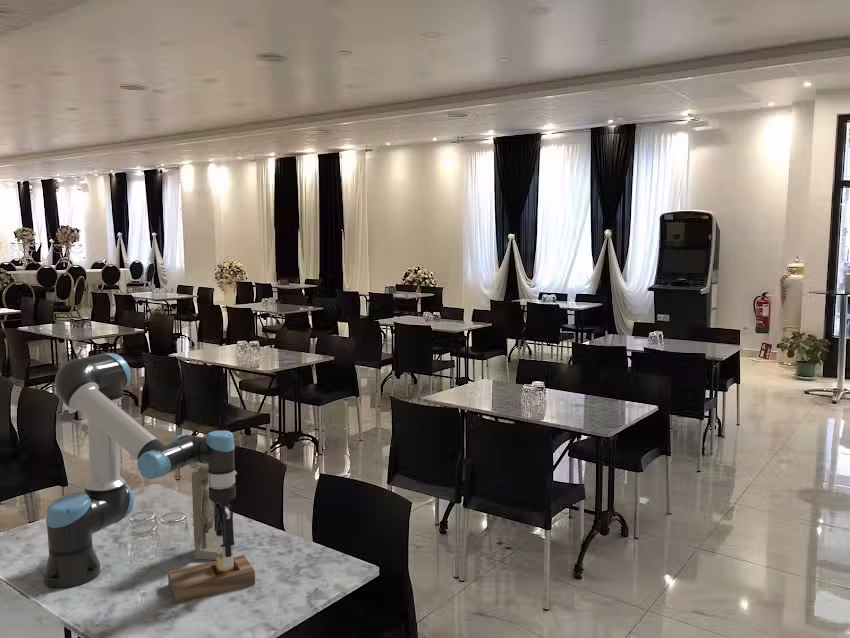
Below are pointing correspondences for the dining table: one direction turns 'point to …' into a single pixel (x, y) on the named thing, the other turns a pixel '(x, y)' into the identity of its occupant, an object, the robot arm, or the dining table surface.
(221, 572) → the bushing
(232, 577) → the block
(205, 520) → the sculpture
